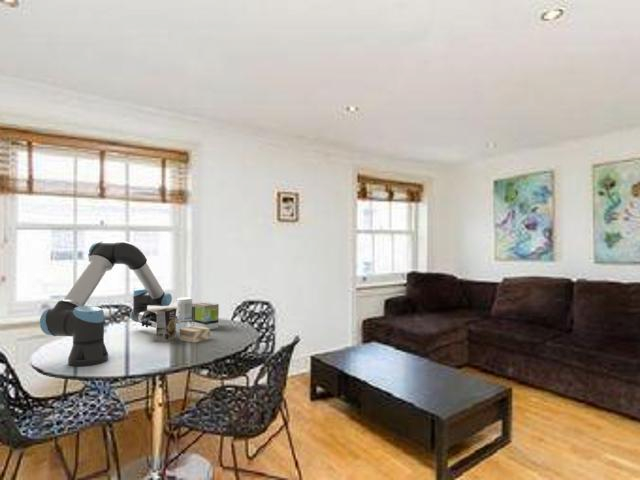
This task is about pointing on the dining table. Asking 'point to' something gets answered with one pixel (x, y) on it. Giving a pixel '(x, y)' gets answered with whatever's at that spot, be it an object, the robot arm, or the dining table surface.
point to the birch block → (194, 334)
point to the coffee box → (166, 325)
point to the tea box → (205, 314)
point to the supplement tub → (184, 309)
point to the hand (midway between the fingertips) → (167, 323)
